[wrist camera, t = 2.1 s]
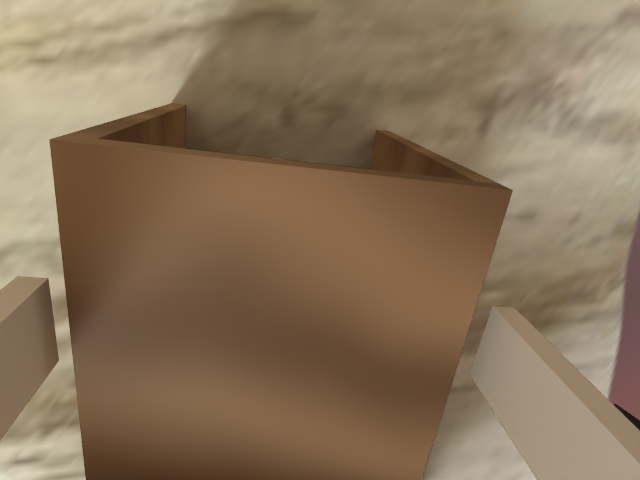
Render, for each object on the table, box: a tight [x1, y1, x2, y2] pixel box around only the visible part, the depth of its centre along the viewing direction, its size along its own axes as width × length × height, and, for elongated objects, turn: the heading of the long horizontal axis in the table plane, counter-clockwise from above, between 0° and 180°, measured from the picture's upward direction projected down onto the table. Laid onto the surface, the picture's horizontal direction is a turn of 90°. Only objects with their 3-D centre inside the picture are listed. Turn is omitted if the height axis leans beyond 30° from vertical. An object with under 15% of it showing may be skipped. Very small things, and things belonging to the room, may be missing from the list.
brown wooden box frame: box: [50, 104, 513, 480], centre depth 17 cm, size 11×11×12 cm
